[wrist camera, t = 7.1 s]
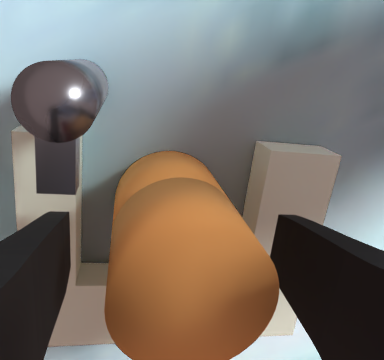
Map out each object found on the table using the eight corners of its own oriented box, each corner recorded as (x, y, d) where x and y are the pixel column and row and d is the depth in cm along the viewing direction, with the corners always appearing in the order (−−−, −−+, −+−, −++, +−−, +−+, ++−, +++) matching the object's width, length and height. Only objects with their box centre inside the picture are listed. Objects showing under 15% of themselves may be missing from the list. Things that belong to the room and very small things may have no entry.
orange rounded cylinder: (222, 152, 14) (294, 225, 8) (211, 244, 15) (264, 364, 9) (115, 148, 13) (103, 227, 7) (114, 246, 15) (104, 379, 9)
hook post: (109, 62, 12) (97, 66, 7) (106, 146, 13) (94, 195, 8) (56, 56, 12) (8, 55, 7) (57, 142, 13) (16, 192, 8)
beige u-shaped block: (320, 145, 15) (341, 155, 13) (278, 311, 18) (292, 334, 16) (25, 121, 12) (11, 131, 11) (34, 319, 15) (24, 347, 14)
